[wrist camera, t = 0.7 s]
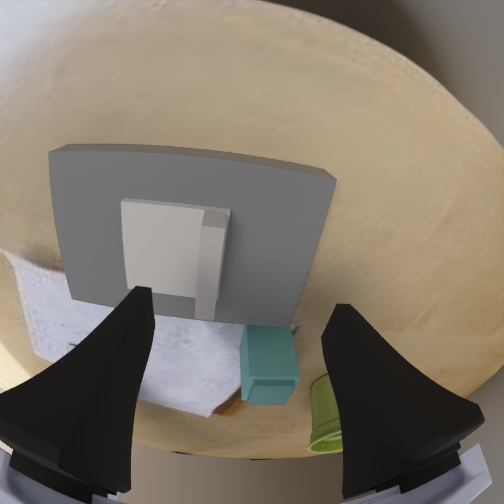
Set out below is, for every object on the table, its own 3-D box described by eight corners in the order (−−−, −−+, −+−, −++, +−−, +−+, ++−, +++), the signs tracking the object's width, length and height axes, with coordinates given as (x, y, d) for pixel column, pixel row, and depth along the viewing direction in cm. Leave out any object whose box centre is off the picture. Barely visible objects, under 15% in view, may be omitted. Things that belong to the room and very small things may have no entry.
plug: (279, 349, 26) (288, 406, 21) (239, 347, 26) (241, 405, 20) (289, 323, 24) (302, 383, 19) (245, 320, 24) (249, 383, 18)
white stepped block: (218, 294, 19) (216, 321, 17) (130, 283, 18) (119, 307, 16) (230, 208, 16) (229, 229, 13) (124, 197, 15) (107, 215, 12)
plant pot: (320, 405, 34) (331, 455, 27) (282, 387, 30) (291, 450, 23) (376, 375, 32) (395, 428, 24) (348, 352, 28) (370, 418, 20)
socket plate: (284, 306, 23) (288, 327, 21) (83, 281, 21) (72, 299, 19) (324, 169, 17) (336, 179, 15) (67, 144, 15) (48, 152, 12)
